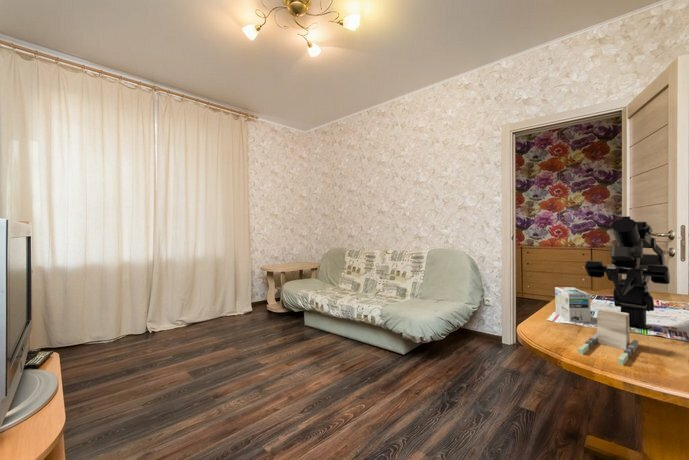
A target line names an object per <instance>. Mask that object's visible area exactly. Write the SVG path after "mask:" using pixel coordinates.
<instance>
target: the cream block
mask: <svg viewBox="0 0 689 460" xmlns="http://www.w3.org/2000/svg"><path fill="white" fill-rule="evenodd" d="M596 312H597V313H596V321H597V322H596V323H597V325H596V326H597V327H596V328H597V329H596V330H597V332H598V341H597V344H598V345H603V346H608V347H611V348H614V349H615V348H617V349H620V350H624V351H625V349H626V348H627V347H628V346H629V344H630V327H629V313H623V312H621V311H616V310H611V309H610V310H609V309H604V308H601V309H599V310H598V311H596Z"/></svg>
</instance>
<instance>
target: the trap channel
mask: <svg viewBox="0 0 689 460" xmlns="http://www.w3.org/2000/svg"><path fill="white" fill-rule="evenodd" d="M596 343H598V331H597V332H595V333H594V334H593V335H592V336H591V337H589V339H588V340H586V341H585V342H584V343H583V344H581V345H580V346H579V347H578V348H577V354H578V355H582V356H583V355H584V354H585V353H587V351H589V350H590V349H591V348H592V347H593V346H594V345H595V344H596ZM638 347H639V340H638V339H632V340H631V342H629V346H628V347H627V348H626V349H625V350H624V351H623V352H622V353H621V354H620V355H619V356H618V358H617V365H619V366H624V365H625V364H626V363H627V361H628V360H629V359H630V357H631V356H632V355H633V353H634V352H635V351H636V349H637V348H638Z"/></svg>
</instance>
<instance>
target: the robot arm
mask: <svg viewBox="0 0 689 460" xmlns="http://www.w3.org/2000/svg"><path fill="white" fill-rule="evenodd" d="M611 230H612V232H613V236H614V238H615V242H617V246H611V248H610V255H609V256H610V258H611V261H610V262H611V264H606V266H605V265H604V264H603V262H602V261H601V260H600V261H599V260H587V261H586V262H585V263H584V268H585V271H586V274H587V276H588V277H590V278H599V279H601V278H603V277H605V274H606V278H607V280H608V281H610V282H612V283H613V285H614V289H613V303H614V307H619V308H620V312H623V313H629V328H631V329H632V328H634V329H637V330H648V329H653V327H652V325H649V324H647V312H650V311H651V312H652V311H653V312H654V311H655V303H654V297H653V296H652V295H651V292H650V291H649V287H648V284H649V282H650V281H651V282H652V283H653V284H660V285H661V284H662V285H669V284H670V283H671V274H670V269H669V267H668V266H667V265H666V261H665V260H666V259H665V251H664V250H663V249H662V248H661V247H660V246H659V245H658V244H657V240H656V239H657V238H656V237H653V236H652V235H651V234H652V233H653V228H652V226H651V225H650V224H648V222H647V221H635V220H634V219H632V218H631V216H627V215H625V216H621V218H620V219H617V220H615V221H613V222H612V223H611ZM644 249H652V251H653V252H654V253H655V254H654V253H652V254H650V253H644ZM620 275H624V276H625V275H626V277H625V278H621V277H620Z"/></svg>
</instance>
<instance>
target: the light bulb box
mask: <svg viewBox="0 0 689 460" xmlns="http://www.w3.org/2000/svg"><path fill="white" fill-rule="evenodd" d="M554 298H555V300H554V301H555V315H557V316H560V317H561V318H563V319H564V320H566V321H567V322H569V323H591V322H592V317H591V315H592V311H591V293H588V292H586V291H584V290H580V289H578V288H576V287H574V286H573V287H566V286H565V287H561V286H558V287H557V286H555V287H554Z"/></svg>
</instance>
